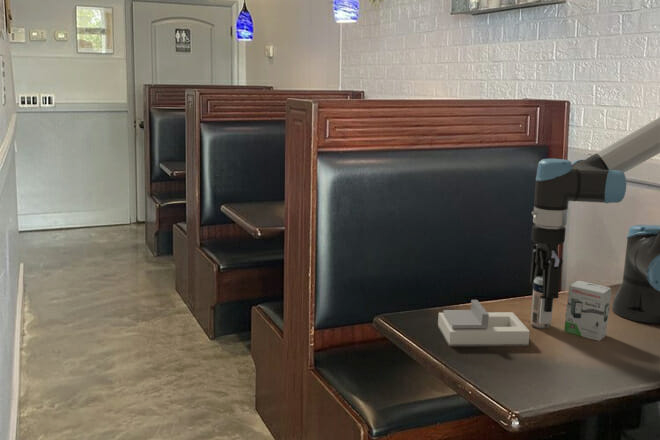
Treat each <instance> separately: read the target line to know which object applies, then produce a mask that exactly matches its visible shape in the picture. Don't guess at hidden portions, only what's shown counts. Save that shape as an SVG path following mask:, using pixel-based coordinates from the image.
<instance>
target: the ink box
mask: <svg viewBox="0 0 660 440" xmlns="http://www.w3.org/2000/svg"><path fill="white" fill-rule="evenodd" d="M568 287H569V288H568V295H567V296H568V297H567V305H566V313H565V319H564V320H565V322H564V330H563V331H564V332H565V333H568V334H572V335H577V336H579V337H583V338H587V339H591V340H595V341H598V342H599V341H602V339H603V338H604V337H606V336H607V329H608V321H609V314H610V306H611V297H612V289H613V288H611V287H609V286H604V285H601V284H600V285H599V284H597V283H592V282H587V281H583V280H576V281H574V282H572V283H571V284H569V286H568Z"/></svg>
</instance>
